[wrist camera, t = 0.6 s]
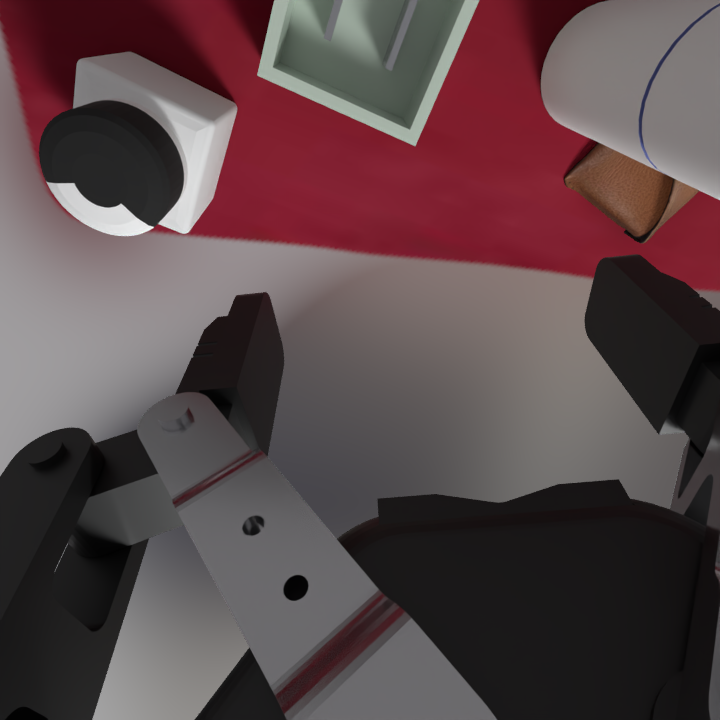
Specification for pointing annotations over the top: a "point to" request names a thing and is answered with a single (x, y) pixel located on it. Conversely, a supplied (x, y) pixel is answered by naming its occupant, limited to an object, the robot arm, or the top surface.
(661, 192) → the sunglasses case
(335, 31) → the open box
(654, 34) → the cylindrical container
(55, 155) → the medicine bottle
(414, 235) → the top surface
